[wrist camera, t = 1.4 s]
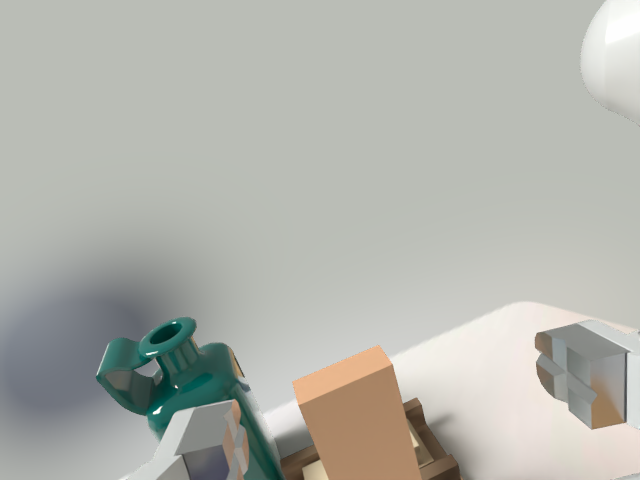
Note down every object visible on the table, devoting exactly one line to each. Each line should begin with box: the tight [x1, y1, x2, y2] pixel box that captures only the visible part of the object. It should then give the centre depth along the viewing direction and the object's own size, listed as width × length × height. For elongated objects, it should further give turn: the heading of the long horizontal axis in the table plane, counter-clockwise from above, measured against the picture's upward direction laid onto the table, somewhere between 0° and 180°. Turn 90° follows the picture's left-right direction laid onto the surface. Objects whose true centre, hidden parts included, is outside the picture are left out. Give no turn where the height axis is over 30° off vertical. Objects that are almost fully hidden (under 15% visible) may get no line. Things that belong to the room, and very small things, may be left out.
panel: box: [292, 345, 422, 480], centre depth 25 cm, size 6×2×20 cm, turn 105°
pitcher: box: [96, 317, 286, 480], centre depth 35 cm, size 10×8×22 cm
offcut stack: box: [302, 419, 434, 480], centre depth 34 cm, size 12×5×5 cm, turn 105°
